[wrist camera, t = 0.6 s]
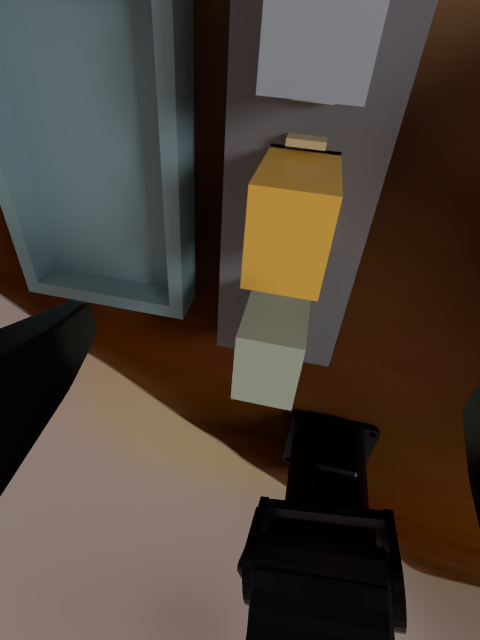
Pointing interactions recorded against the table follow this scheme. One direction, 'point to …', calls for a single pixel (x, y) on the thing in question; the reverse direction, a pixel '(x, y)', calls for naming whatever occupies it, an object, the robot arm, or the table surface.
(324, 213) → the block
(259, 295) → the block
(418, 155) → the table surface
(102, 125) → the parts tray
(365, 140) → the block
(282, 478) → the table surface
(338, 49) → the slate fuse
